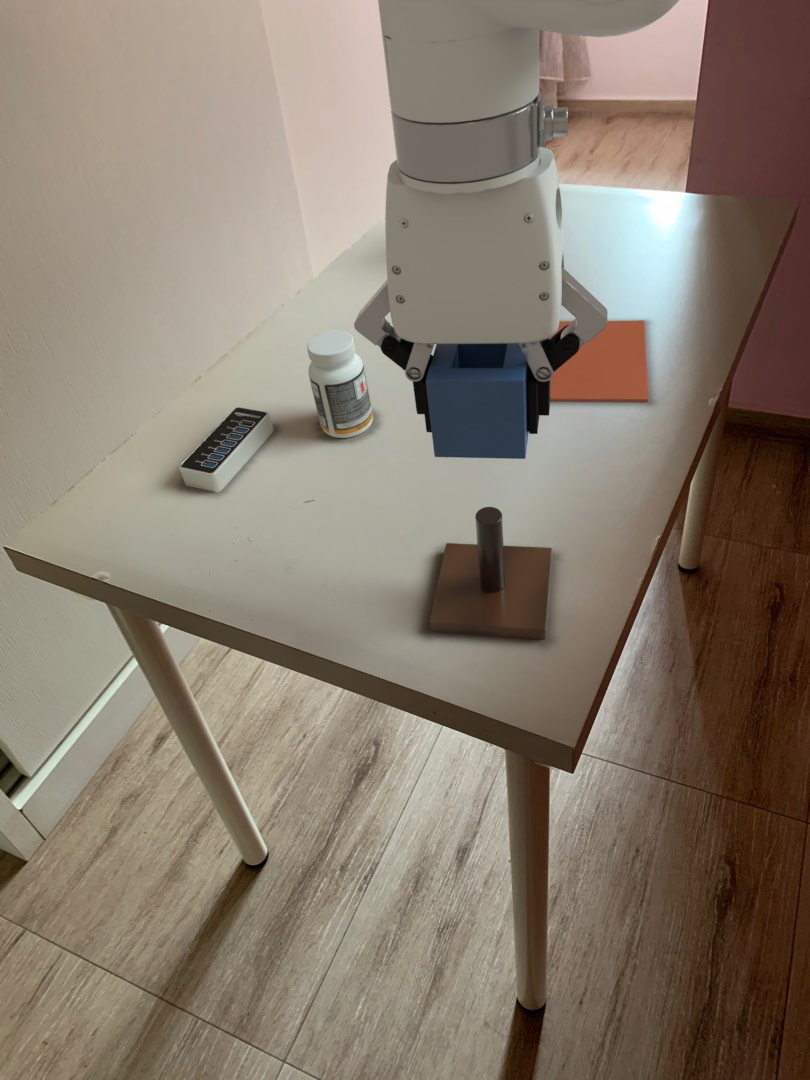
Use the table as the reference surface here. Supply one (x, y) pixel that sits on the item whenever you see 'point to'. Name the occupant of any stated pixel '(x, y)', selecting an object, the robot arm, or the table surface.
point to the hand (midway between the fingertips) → (483, 419)
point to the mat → (605, 367)
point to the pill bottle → (339, 384)
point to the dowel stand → (492, 585)
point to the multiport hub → (226, 449)
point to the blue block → (478, 401)
